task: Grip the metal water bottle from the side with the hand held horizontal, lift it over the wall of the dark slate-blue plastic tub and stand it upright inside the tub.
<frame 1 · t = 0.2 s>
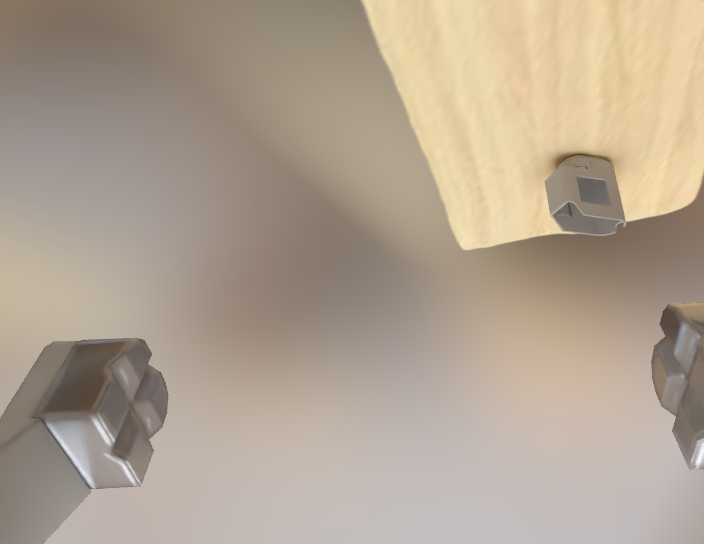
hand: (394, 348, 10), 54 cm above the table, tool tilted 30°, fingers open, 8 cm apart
cable organizer: (576, 161, 103), on the table
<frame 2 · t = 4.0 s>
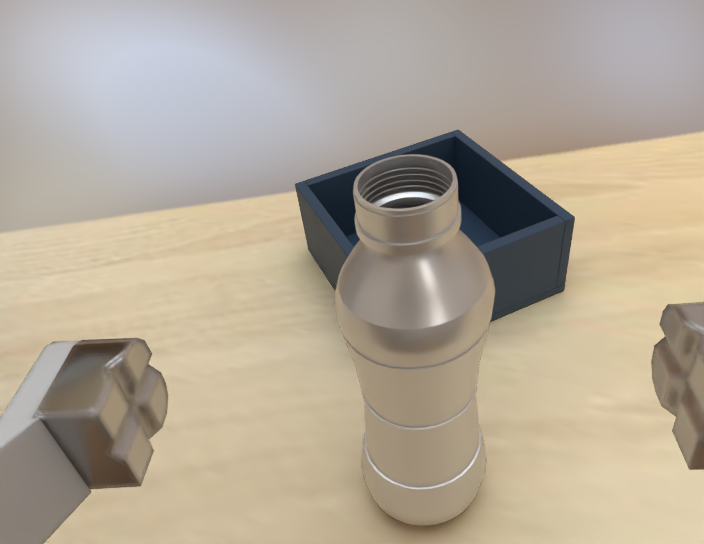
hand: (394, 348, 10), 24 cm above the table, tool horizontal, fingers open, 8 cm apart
metal water bottle: (425, 485, 34), on the table
tub: (426, 268, 48), on the table
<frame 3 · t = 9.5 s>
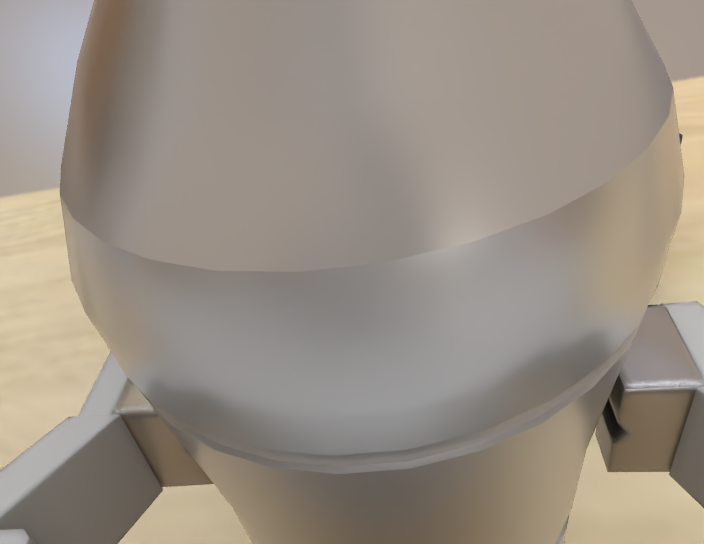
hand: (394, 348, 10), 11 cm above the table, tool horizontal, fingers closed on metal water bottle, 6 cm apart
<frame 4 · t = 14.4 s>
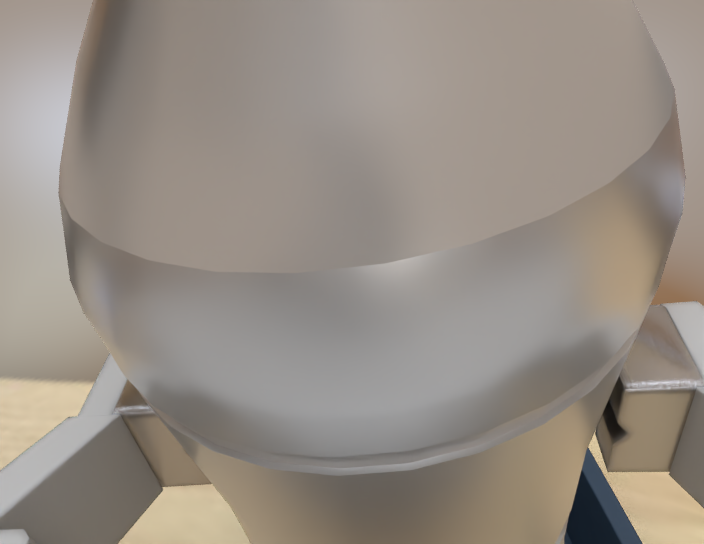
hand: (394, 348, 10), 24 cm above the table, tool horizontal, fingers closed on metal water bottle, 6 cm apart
when the fingers open (12 cm above the table, at t = 19.4 s): metal water bottle stays where it is, resting on tub.
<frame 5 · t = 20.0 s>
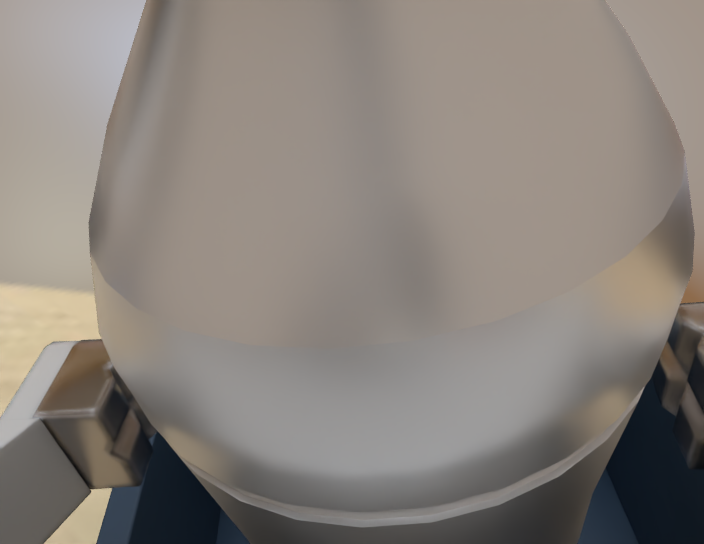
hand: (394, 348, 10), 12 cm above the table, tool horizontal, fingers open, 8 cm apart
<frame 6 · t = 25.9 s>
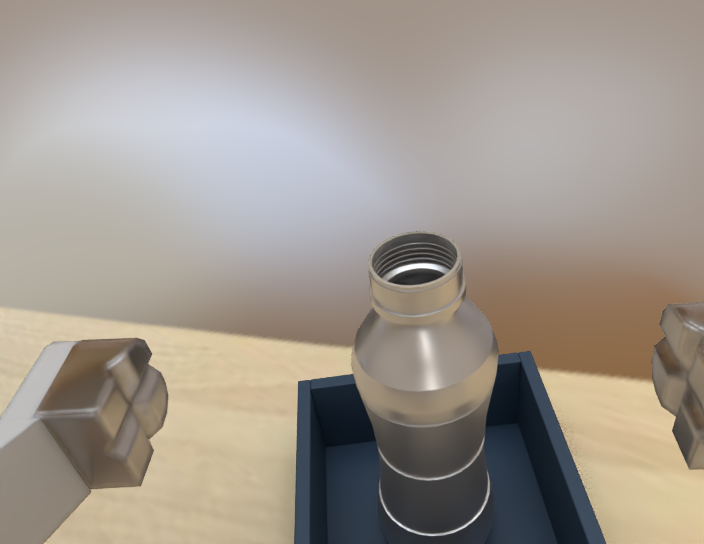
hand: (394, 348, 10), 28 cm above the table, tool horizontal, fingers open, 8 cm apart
metal water bottle: (438, 529, 36), resting on tub
tub: (437, 531, 36), on the table
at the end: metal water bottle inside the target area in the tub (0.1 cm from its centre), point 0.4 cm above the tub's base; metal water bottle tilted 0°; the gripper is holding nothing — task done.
